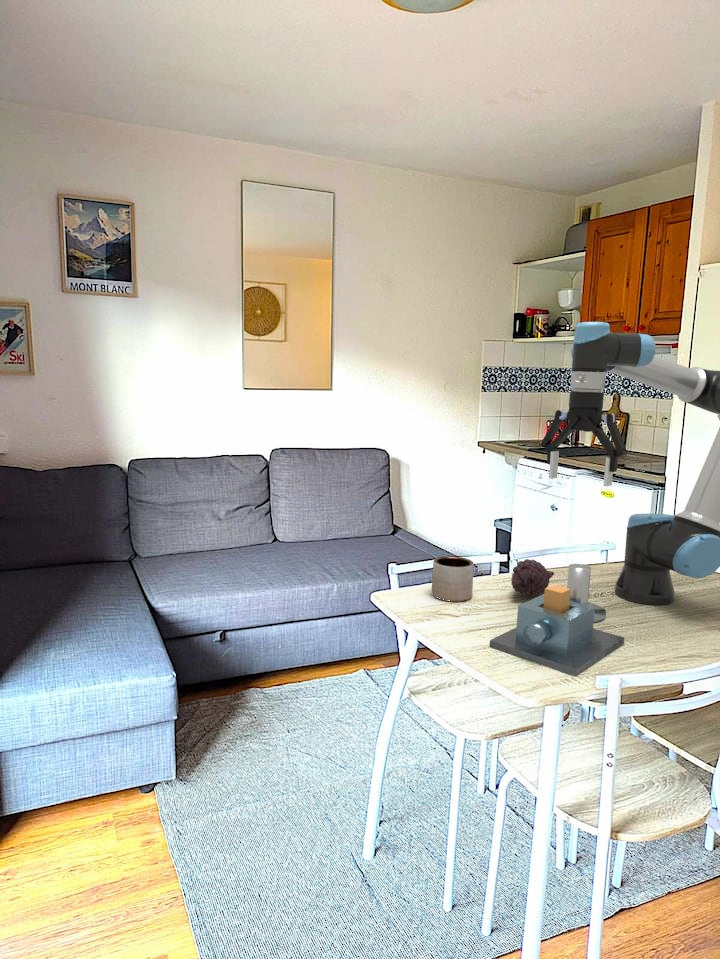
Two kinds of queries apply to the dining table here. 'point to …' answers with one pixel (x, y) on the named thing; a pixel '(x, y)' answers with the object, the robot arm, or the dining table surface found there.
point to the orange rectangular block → (557, 598)
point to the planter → (452, 578)
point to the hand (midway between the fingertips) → (579, 481)
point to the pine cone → (530, 577)
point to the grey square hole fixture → (561, 630)
